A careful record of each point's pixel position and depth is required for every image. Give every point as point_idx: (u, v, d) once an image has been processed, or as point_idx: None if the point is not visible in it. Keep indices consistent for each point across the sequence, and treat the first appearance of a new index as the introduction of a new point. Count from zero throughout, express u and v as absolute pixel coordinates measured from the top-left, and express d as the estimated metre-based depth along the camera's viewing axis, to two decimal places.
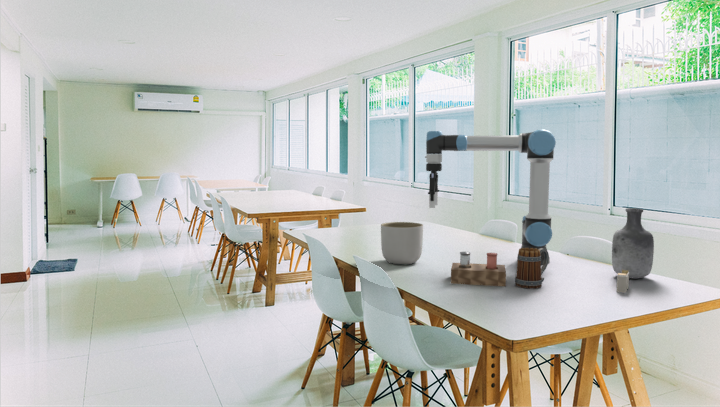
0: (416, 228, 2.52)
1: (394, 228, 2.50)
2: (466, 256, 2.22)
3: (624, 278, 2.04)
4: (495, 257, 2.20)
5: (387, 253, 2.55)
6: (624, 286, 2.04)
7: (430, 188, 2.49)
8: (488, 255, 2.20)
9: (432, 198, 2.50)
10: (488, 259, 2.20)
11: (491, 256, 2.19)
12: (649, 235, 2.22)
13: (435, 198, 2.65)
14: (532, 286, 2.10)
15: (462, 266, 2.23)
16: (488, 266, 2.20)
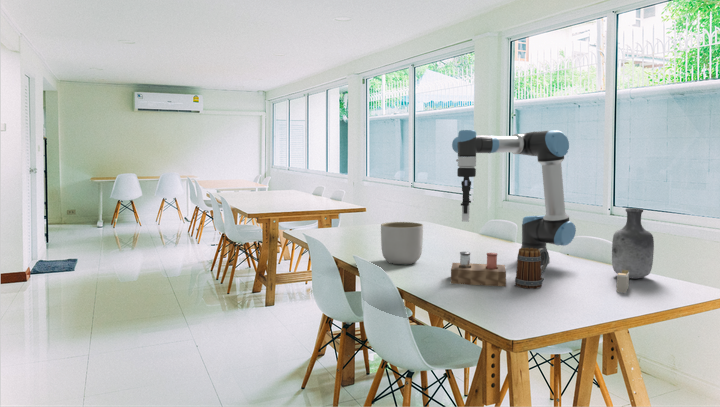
0: (416, 228, 2.52)
1: (394, 228, 2.50)
2: (466, 256, 2.22)
3: (624, 278, 2.04)
4: (495, 257, 2.20)
5: (387, 253, 2.55)
6: (624, 286, 2.04)
7: (463, 199, 2.13)
8: (488, 255, 2.20)
9: (466, 210, 2.15)
10: (488, 259, 2.20)
11: (491, 256, 2.19)
12: (649, 235, 2.22)
13: None
14: (532, 286, 2.10)
15: (462, 266, 2.23)
16: (488, 266, 2.20)
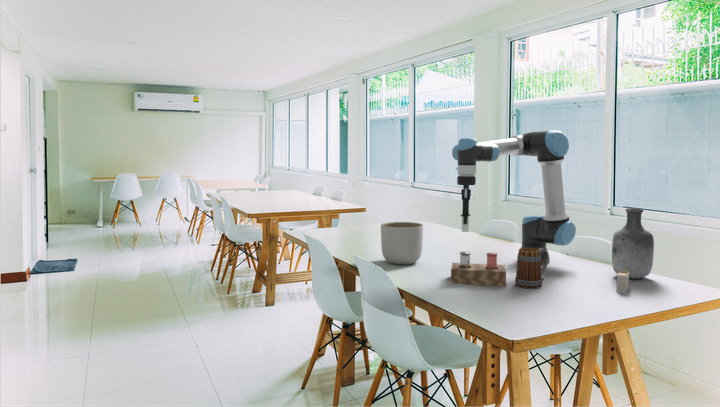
0: (416, 228, 2.52)
1: (394, 228, 2.50)
2: (466, 256, 2.22)
3: (624, 278, 2.04)
4: (495, 257, 2.20)
5: (387, 253, 2.55)
6: (624, 286, 2.04)
7: (463, 211, 2.18)
8: (488, 255, 2.20)
9: (465, 221, 2.20)
10: (488, 259, 2.20)
11: (491, 256, 2.19)
12: (649, 235, 2.22)
13: None
14: (532, 286, 2.10)
15: (462, 266, 2.23)
16: (488, 266, 2.20)
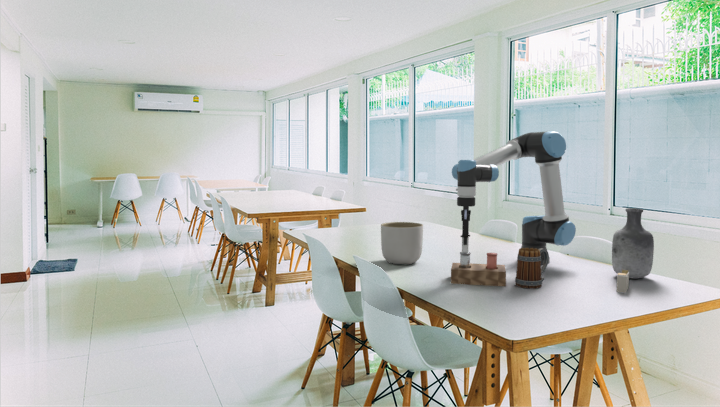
0: (416, 228, 2.52)
1: (394, 228, 2.50)
2: (466, 256, 2.22)
3: (624, 278, 2.04)
4: (495, 257, 2.20)
5: (387, 253, 2.55)
6: (624, 286, 2.04)
7: (463, 232, 2.19)
8: (488, 255, 2.20)
9: (465, 242, 2.21)
10: (488, 259, 2.20)
11: (491, 256, 2.19)
12: (649, 235, 2.22)
13: None
14: (532, 286, 2.10)
15: (462, 266, 2.23)
16: (488, 266, 2.20)
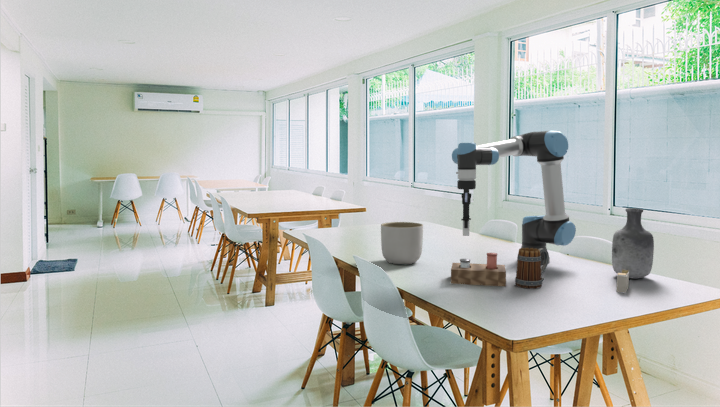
0: (416, 228, 2.52)
1: (394, 228, 2.50)
2: (466, 263, 2.22)
3: (624, 278, 2.04)
4: (495, 257, 2.20)
5: (387, 253, 2.55)
6: (624, 286, 2.04)
7: (464, 215, 2.18)
8: (488, 255, 2.20)
9: (466, 225, 2.21)
10: (488, 259, 2.20)
11: (491, 256, 2.19)
12: (649, 235, 2.22)
13: None
14: (532, 286, 2.10)
15: None
16: (488, 266, 2.20)
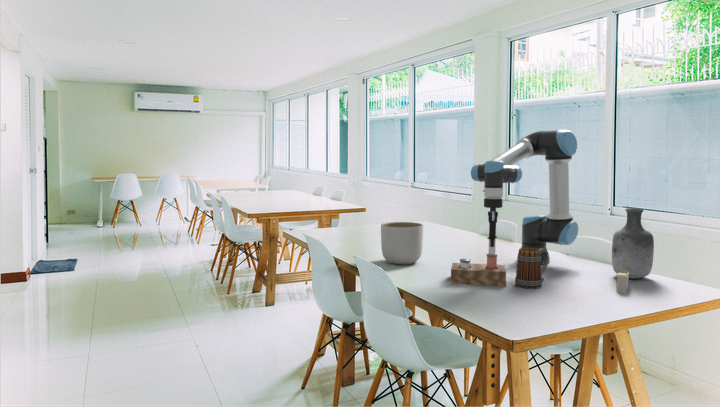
0: (416, 228, 2.52)
1: (394, 228, 2.50)
2: (466, 263, 2.22)
3: (624, 278, 2.04)
4: (495, 258, 2.20)
5: (387, 253, 2.55)
6: (624, 286, 2.04)
7: (490, 233, 2.16)
8: (488, 256, 2.20)
9: (492, 244, 2.19)
10: (488, 260, 2.20)
11: (491, 257, 2.19)
12: (649, 235, 2.22)
13: None
14: (532, 286, 2.10)
15: None
16: (488, 267, 2.21)
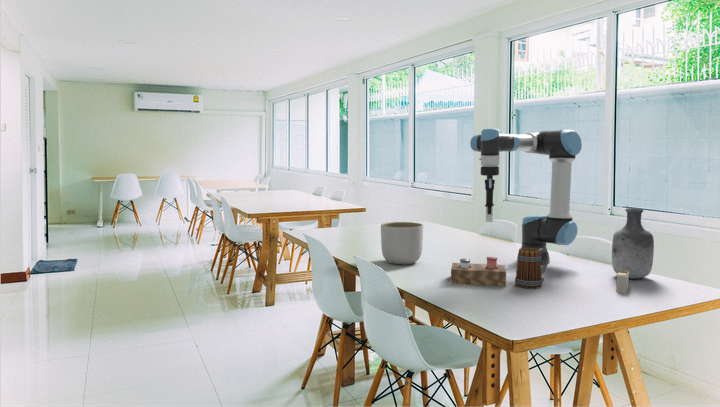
0: (416, 228, 2.52)
1: (394, 228, 2.50)
2: (466, 263, 2.22)
3: (624, 278, 2.04)
4: (495, 261, 2.20)
5: (387, 253, 2.55)
6: (624, 286, 2.04)
7: (488, 201, 2.19)
8: (488, 259, 2.20)
9: (490, 211, 2.22)
10: (488, 263, 2.21)
11: (491, 260, 2.19)
12: (649, 235, 2.22)
13: None
14: (532, 286, 2.10)
15: None
16: None
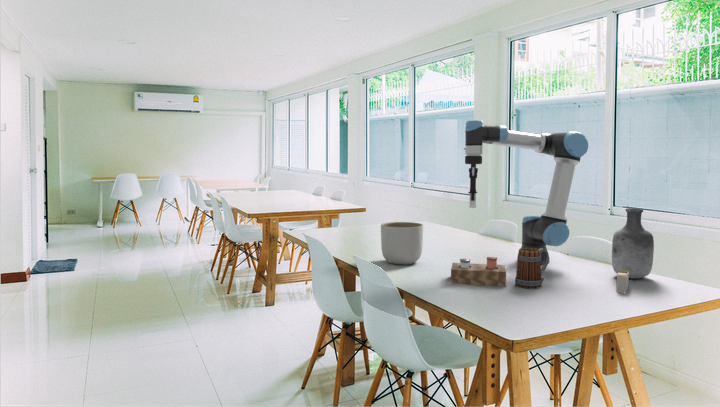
0: (416, 228, 2.52)
1: (394, 228, 2.50)
2: (466, 263, 2.22)
3: (624, 278, 2.04)
4: (495, 261, 2.20)
5: (387, 253, 2.55)
6: (624, 286, 2.04)
7: (471, 188, 2.34)
8: (488, 259, 2.20)
9: (473, 197, 2.36)
10: (488, 263, 2.21)
11: (491, 260, 2.19)
12: (649, 235, 2.22)
13: None
14: (532, 286, 2.10)
15: None
16: None
